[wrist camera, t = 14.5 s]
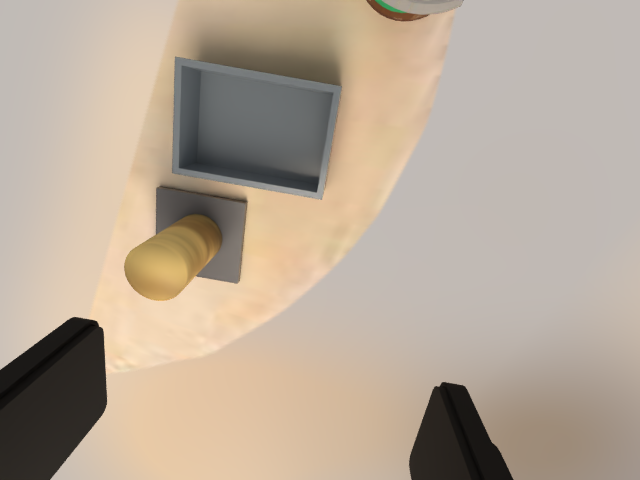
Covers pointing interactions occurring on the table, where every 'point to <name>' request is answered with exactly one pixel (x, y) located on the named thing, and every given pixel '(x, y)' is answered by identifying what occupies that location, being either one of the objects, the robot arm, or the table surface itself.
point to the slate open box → (253, 128)
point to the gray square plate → (222, 212)
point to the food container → (412, 8)
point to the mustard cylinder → (173, 257)
